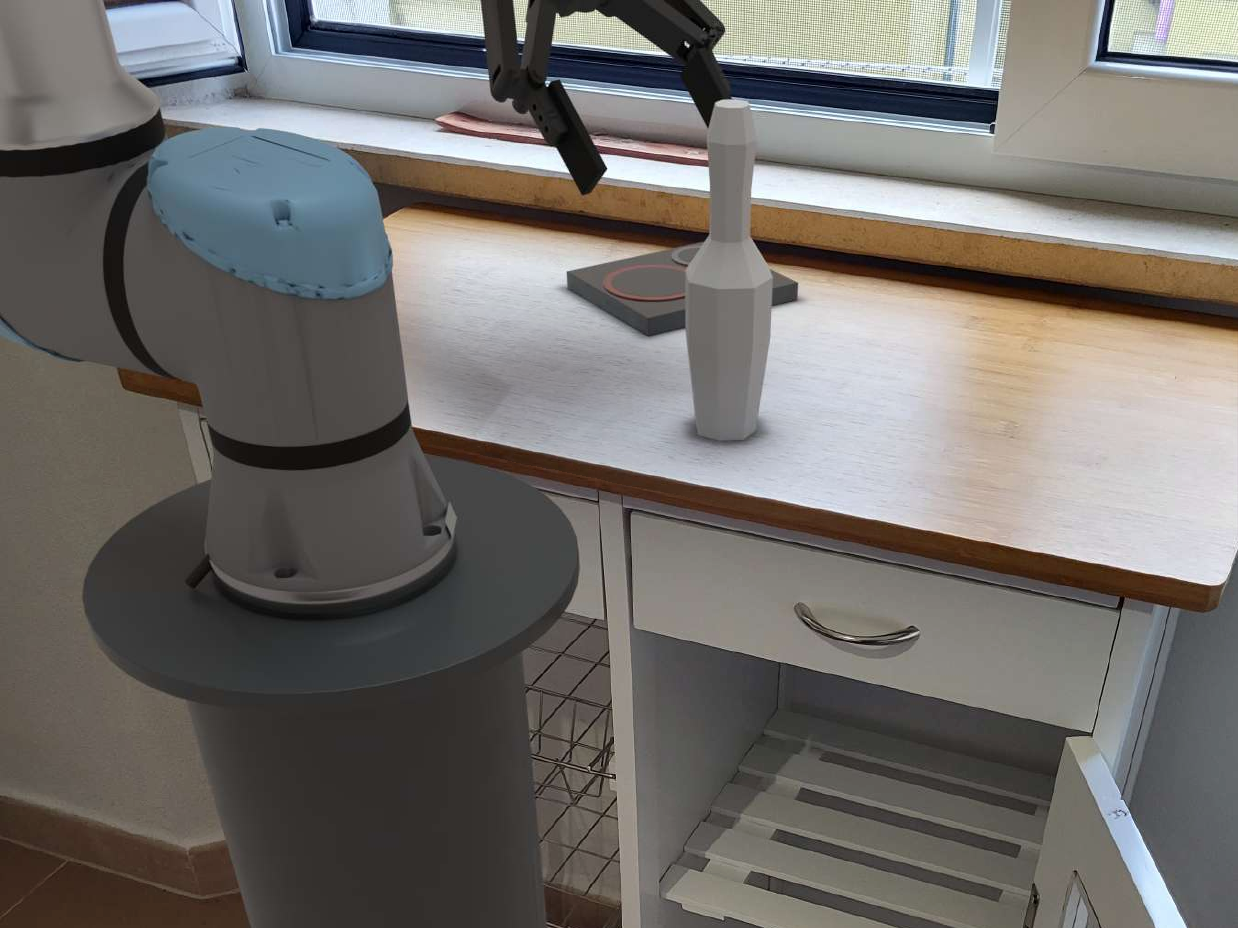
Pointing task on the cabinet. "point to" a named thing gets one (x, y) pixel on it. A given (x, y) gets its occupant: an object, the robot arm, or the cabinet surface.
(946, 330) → the cabinet surface
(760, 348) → the low poly bottle
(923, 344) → the cabinet surface
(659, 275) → the hob
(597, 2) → the robot arm
